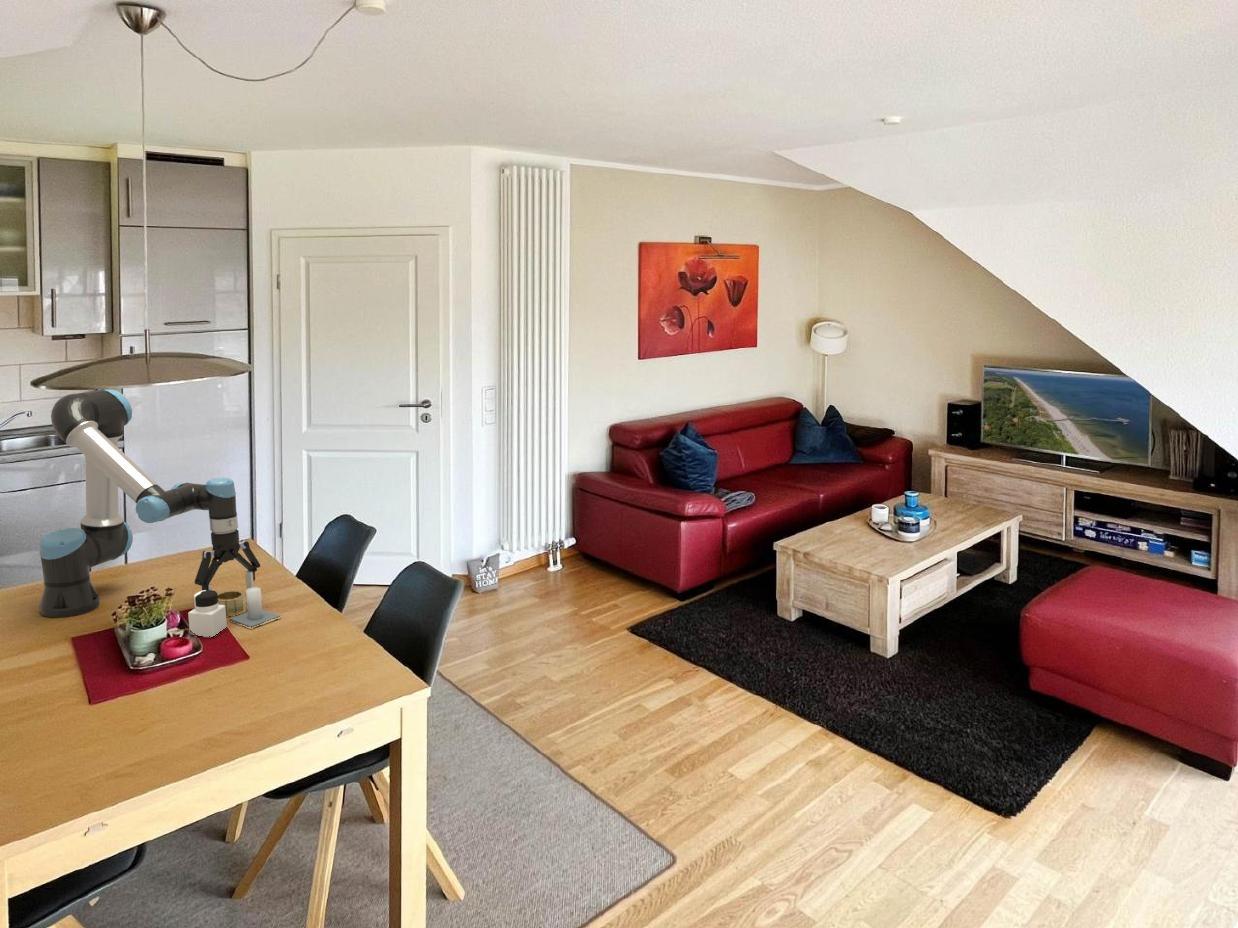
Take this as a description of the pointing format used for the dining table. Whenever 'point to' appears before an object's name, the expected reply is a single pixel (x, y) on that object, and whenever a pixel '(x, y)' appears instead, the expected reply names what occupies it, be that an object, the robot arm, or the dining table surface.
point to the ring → (232, 601)
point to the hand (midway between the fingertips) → (230, 598)
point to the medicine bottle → (207, 614)
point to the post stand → (254, 610)
